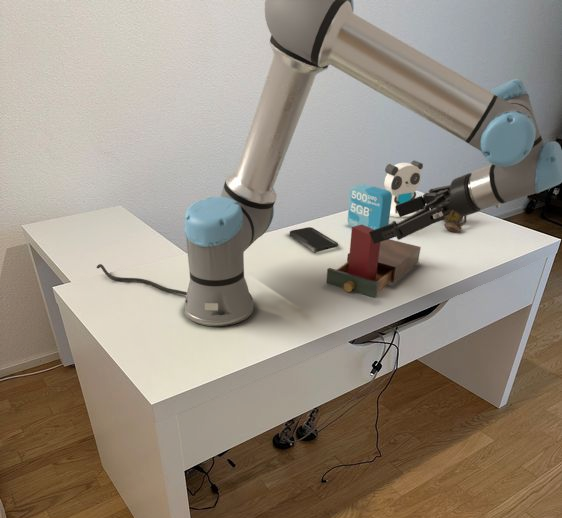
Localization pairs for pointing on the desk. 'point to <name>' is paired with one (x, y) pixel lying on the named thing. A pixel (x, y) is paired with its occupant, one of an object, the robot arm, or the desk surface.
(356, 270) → the card box
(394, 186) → the panda figurine
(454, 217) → the vintage travel clock
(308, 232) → the phone
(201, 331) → the desk surface
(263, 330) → the desk surface
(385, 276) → the drawer
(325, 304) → the desk surface
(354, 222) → the data package
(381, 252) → the box
